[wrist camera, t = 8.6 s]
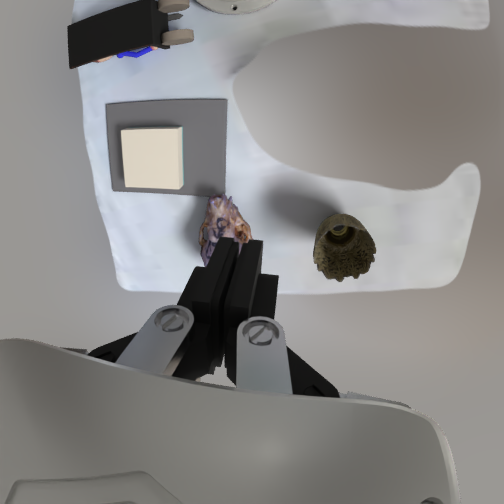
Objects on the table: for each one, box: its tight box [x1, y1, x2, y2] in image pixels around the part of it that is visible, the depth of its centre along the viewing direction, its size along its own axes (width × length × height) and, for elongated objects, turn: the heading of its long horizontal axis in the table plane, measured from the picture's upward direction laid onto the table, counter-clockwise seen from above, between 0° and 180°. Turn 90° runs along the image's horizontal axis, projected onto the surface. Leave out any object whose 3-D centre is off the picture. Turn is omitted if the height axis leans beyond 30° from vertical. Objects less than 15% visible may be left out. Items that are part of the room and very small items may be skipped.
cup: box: [313, 214, 376, 282], centre depth 39 cm, size 8×7×8 cm
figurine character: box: [68, 0, 194, 69], centre depth 29 cm, size 7×8×15 cm
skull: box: [199, 194, 253, 267], centre depth 42 cm, size 12×8×6 cm, turn 177°
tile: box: [121, 126, 184, 189], centre depth 39 cm, size 8×2×8 cm
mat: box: [106, 99, 227, 197], centre depth 40 cm, size 13×17×1 cm
